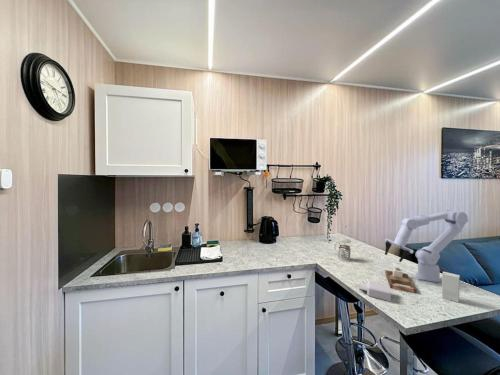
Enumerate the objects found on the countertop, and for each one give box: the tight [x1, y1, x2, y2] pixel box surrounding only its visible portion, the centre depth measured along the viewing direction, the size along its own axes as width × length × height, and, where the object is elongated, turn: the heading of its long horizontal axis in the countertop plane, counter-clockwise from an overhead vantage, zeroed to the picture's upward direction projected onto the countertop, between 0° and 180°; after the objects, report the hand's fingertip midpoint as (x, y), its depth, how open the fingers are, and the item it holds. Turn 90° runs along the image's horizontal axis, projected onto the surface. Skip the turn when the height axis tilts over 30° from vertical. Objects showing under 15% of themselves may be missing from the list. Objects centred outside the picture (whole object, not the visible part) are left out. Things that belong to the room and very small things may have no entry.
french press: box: [334, 224, 353, 263], centre depth 153 cm, size 10×12×25 cm
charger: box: [355, 280, 392, 302], centre depth 106 cm, size 5×9×15 cm
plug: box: [391, 267, 404, 278], centre depth 124 cm, size 4×5×6 cm
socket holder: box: [384, 269, 417, 294], centre depth 119 cm, size 11×21×2 cm, turn 154°
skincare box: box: [441, 271, 461, 303], centre depth 102 cm, size 6×4×12 cm
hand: (392, 258), depth 126 cm, fingers open, 7 cm apart
